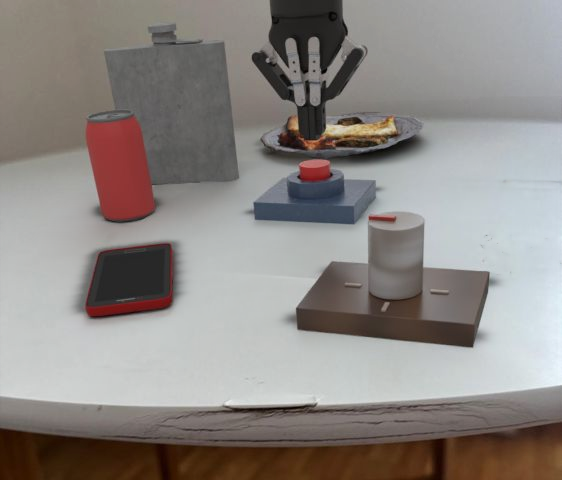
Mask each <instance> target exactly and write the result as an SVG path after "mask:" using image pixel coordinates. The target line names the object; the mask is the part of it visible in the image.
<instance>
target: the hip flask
mask: <svg viewBox="0 0 562 480" xmlns="http://www.w3.org/2000/svg"><path fill="white" fill-rule="evenodd" d="M177 30H178V29H177V23H176V22H160V23H155V24H150V25H147V31H148V33H149V34H151V36H150V37H151V42H152V44H143V45H133V46H120V47H112V48H107V49H103V53H104V59H105V65H106V69H107V75H108V80H109V85H110V90H111V97H112V101H113V106H114V110H122V109H124V110H132V111H133V112H134V116H135V118H136V119H137V121H138V123H139V125H140V127H141V130H142V134H143V140H144V146H145V151H146V157H147V163H148V168H149V174H150V180H151V186H153V185H152V184H157V185H167V184H166V183H172V184H186V183H185V182H196V183H203V182H205V183H206V182H207V183H208V182H210V183H211V182H212V183H213V182H216V183H228V182H233V181H237V180H239V178H240V175H239V173H240V171H239V165H238V156H237V146H236V136H235V129H234V127H235V126H234V118H233V117H234V116H233V109H232V101H231V100H232V99H231V89H230V83H229V82H230V81H229V72H228V64H227V63H228V62H227V55H226V44H225V41H224V40H219V39H218V40H204V38H178V37H177V34H175V31H177Z"/></svg>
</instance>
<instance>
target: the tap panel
mask: <svg viewBox="0 0 562 480" xmlns="http://www.w3.org/2000/svg"><path fill="white" fill-rule="evenodd" d="M490 274H491V271H489V270H488V271H486V270H471V269H456V268H453V269H452V268H444V267H443V268H442V267H441V268H440V267H428V266H427V267H426V266H423V289H422V291H421V292H420V293H419V294H418V295H416V296H414V297H411V298H407V299H400V300H389V299H383V298H379V297H376V296H374V295H372V294H371V293H370V292H369V287H368V262H367V263H365V262H353V261H352V262H350V261H336V260H332V261H330V263H329V264H328V265H327V266H326V268H325V269H324V271H322V273H321V275H320V276H319V277H318V279H317V280H316V281H315V282H314V284H313V285H312V287H310V289H309V290H308V291H307V293H306V294H305V295H304V297H303V298H302V299H301V300H300V301H299V303H298V305H296V307H295V316H296V318H295V319H296V329H297V330H298V331H307V332H317V333H326V334H336V335H345V336H356V337H364V338H374V339H385V340H395V341H403V342H413V343H422V344H423V343H424V344H433V345H444V346H453V347H463V348H472V349H473V348H474V345H475V342H476V338H477V334H478V331H479V328H480V324H481V320H482V317H483V313H484V310H485V305H486V301H487V298H488V295H489V287H490Z"/></svg>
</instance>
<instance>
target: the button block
mask: <svg viewBox="0 0 562 480" xmlns="http://www.w3.org/2000/svg"><path fill="white" fill-rule="evenodd" d="M330 173H331V177H330V178H327V179H324V180H317V181H304V180H300V173H299V170H298V171H294V172H291V173H290V174H289V175H287V176H286V177H283V178H281V179H279V181H277V182H276V183H275V184H274V185H273V186H271V187H270V188H269V189H267V191H265V192H264V193H262V195H260V196H259V197H258V198H257V199H255V200H254V201H253V204H252V205H253V214H254V220H255V221H268V222H269V221H270V222H271V221H273V222H293V223H313V224H315V223H316V224H334V225H335V224H336V225H356V223H357V222H358V221H359V219H360V218H361V217H362V216H363V214H364V213H365V212H366V210H367V209H368V208H369V207H370V206H371V204H372V203H373V202H374V201H375V199H376V198H377V180H376V179H351V178H350V179H347V178H346V179H345V174H344V172H342V170H340V169H336V168H332V167H330Z"/></svg>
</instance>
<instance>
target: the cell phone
mask: <svg viewBox="0 0 562 480" xmlns="http://www.w3.org/2000/svg"><path fill="white" fill-rule="evenodd" d="M90 280H91V281H90V285H89V288H88V292H87V296H86V300H85V306H84V307H85V311H86V314H87V315H88V316H89V317H103V316H109V315H110V316H111V315H116V314H118V315H119V314H125V313H126V314H127V313H133V312H142V311H151V310H156V309H162V308H168V307H169V306H170V305H171V304H172V303H173V301H174V293H173V284H174V251H173V246H172V244H171V243H170V242H168V243H167V242H161V243H154V244H146V245H138V246H129V247H121V248H113V249H105V250H101V251H99V253H98V255H97V257H96V261H95V265H94V269H93V272H92V277H91V279H90Z"/></svg>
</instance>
